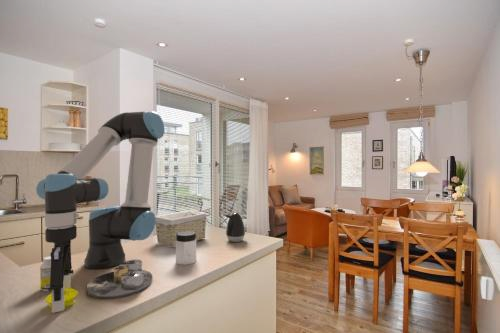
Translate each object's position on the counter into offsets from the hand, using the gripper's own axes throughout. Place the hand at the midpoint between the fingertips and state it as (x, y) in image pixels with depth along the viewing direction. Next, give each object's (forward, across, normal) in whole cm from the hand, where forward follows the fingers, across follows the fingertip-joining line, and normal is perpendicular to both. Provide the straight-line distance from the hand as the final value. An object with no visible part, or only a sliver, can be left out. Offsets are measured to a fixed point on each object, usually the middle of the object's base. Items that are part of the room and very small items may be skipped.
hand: (61, 303), depth 80 cm
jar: (+1, +21, -40) cm, 45 cm away
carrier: (0, +7, -16) cm, 17 cm away
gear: (+1, 0, 0) cm, 1 cm away
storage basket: (+1, +53, -44) cm, 69 cm away
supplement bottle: (0, +14, +6) cm, 15 cm away
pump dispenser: (+1, +41, -71) cm, 82 cm away
